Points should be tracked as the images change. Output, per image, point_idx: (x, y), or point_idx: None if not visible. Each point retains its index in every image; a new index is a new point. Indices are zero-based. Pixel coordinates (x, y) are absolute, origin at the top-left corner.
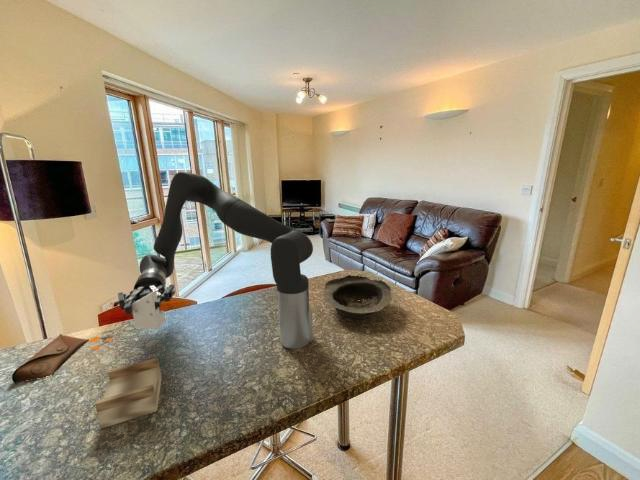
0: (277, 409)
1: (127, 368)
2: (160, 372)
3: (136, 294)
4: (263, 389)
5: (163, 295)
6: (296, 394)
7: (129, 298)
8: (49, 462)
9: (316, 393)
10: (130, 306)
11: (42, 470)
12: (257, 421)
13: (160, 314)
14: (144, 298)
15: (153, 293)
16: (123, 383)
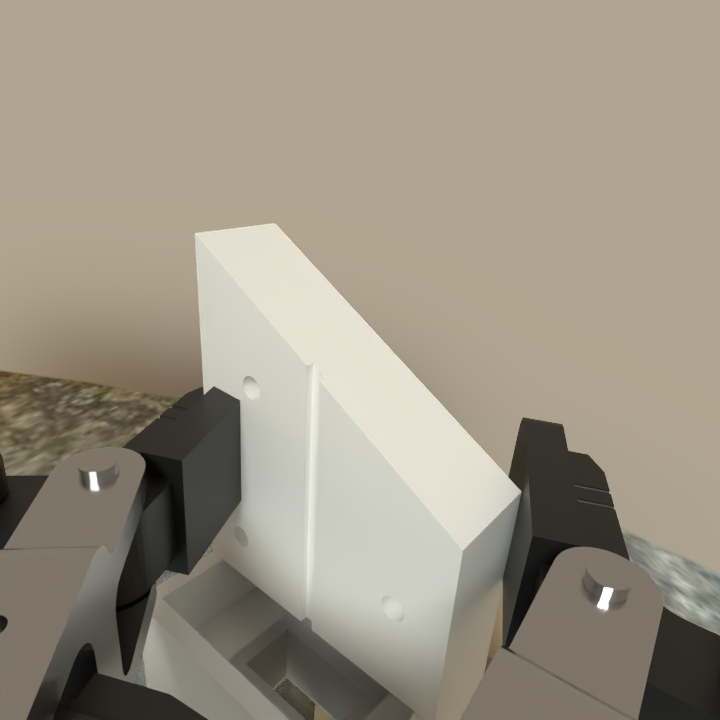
0: (115, 399)
1: (490, 661)
2: (315, 709)
3: (483, 683)
4: (73, 447)
5: (29, 487)
6: (42, 400)
7: (616, 628)
8: (652, 565)
9: (12, 382)
10: (520, 461)
11: (656, 551)
12: (172, 402)
13: (203, 561)
14: (350, 323)
15: (248, 249)
16: (498, 638)
